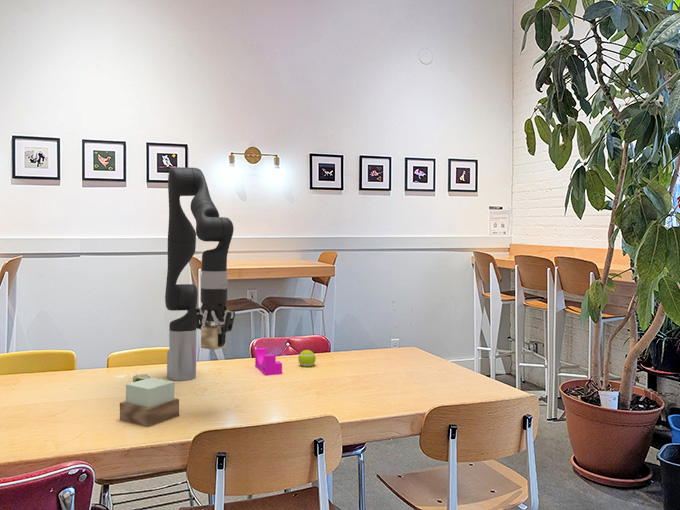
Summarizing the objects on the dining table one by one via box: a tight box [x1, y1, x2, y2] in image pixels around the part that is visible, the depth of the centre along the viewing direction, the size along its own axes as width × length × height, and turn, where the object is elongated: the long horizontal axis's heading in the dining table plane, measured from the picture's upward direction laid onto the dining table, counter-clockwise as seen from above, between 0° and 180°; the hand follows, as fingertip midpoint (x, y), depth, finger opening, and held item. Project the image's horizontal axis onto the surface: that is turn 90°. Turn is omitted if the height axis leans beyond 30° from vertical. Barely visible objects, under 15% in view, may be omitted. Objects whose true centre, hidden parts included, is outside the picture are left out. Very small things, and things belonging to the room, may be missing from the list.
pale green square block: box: [125, 377, 175, 408], centre depth 158 cm, size 9×9×5 cm
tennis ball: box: [297, 349, 316, 368], centre depth 223 cm, size 7×7×7 cm
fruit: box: [132, 373, 152, 383], centre depth 177 cm, size 9×9×8 cm
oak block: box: [200, 324, 227, 351], centre depth 166 cm, size 5×5×6 cm
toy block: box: [254, 347, 283, 377], centre depth 215 cm, size 15×6×8 cm, turn 22°
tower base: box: [119, 397, 180, 428], centre depth 159 cm, size 11×11×5 cm
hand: (213, 344), depth 166 cm, fingers closed on oak block, 5 cm apart
